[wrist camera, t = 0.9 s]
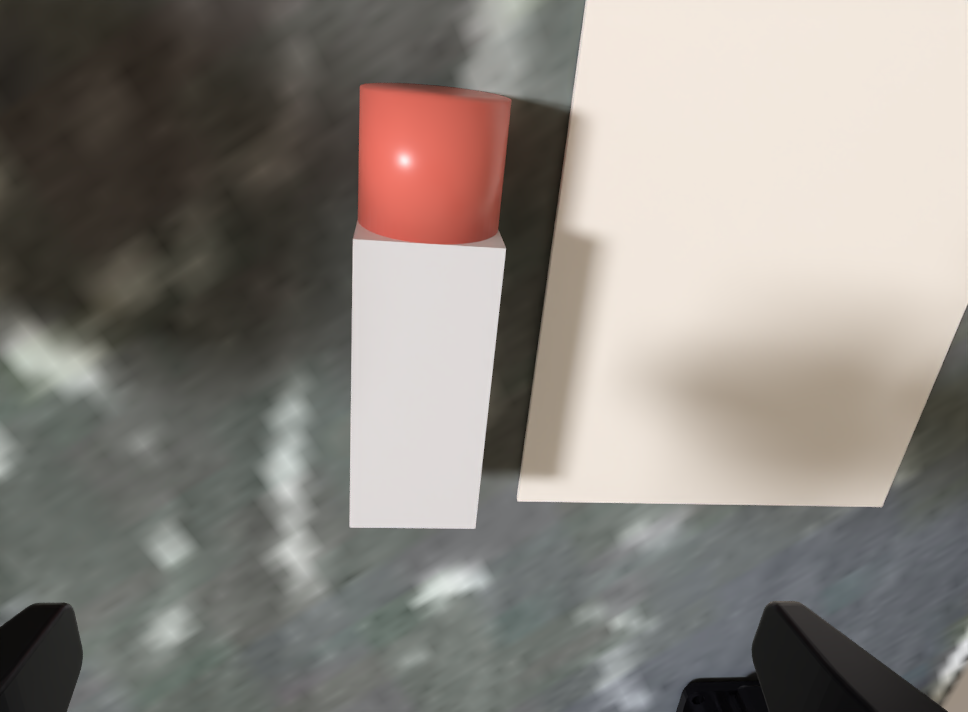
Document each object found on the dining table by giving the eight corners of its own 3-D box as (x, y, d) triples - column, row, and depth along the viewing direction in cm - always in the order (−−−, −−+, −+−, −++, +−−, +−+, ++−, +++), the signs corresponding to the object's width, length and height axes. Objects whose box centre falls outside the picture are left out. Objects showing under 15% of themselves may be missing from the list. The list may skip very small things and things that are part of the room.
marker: (466, 457, 22) (475, 528, 19) (357, 455, 22) (349, 527, 19) (502, 91, 17) (521, 108, 14) (364, 79, 17) (354, 94, 14)
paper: (878, 503, 25) (882, 507, 25) (516, 497, 23) (517, 501, 23) (1128, -95, 17) (1136, -96, 17) (609, -168, 15) (611, -170, 15)
